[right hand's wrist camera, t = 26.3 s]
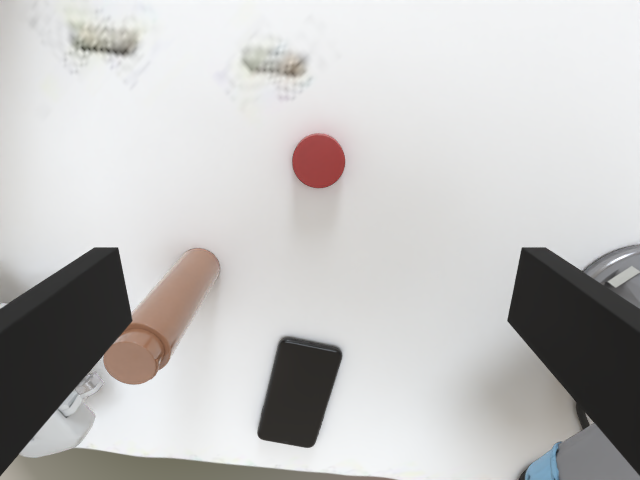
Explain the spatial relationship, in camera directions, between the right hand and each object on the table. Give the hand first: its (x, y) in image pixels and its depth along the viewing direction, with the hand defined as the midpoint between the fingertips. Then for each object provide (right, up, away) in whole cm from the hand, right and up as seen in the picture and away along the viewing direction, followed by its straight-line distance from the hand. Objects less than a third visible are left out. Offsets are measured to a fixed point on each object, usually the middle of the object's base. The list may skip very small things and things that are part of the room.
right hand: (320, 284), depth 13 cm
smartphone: (-3, -18, +36) cm, 40 cm away
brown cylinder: (-13, -2, +30) cm, 32 cm away
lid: (0, +9, +24) cm, 26 cm away
